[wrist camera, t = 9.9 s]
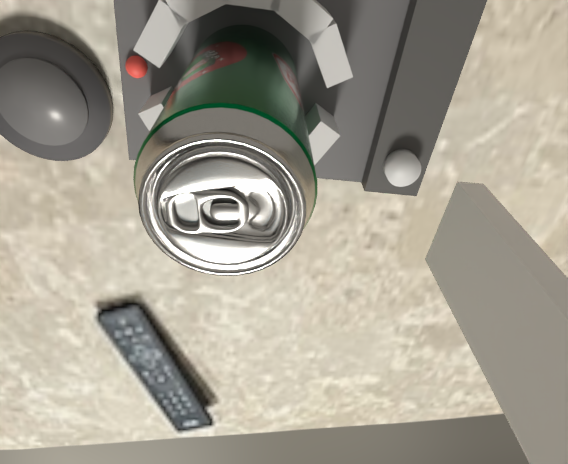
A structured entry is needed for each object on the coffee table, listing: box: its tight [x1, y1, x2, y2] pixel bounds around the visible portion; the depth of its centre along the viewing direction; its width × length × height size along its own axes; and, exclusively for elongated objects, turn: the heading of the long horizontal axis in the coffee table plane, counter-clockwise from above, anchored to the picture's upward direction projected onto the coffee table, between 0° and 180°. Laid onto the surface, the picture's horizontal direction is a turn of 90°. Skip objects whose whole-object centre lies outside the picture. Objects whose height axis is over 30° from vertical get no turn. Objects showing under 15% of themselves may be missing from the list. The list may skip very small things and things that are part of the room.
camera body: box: [114, 0, 487, 196], centre depth 22 cm, size 16×10×8 cm, turn 83°
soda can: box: [134, 25, 317, 276], centre depth 16 cm, size 5×5×12 cm
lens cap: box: [0, 31, 113, 161], centre depth 25 cm, size 8×8×1 cm
